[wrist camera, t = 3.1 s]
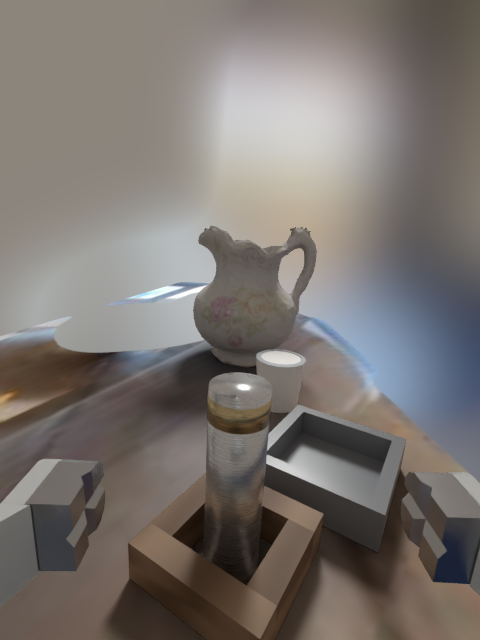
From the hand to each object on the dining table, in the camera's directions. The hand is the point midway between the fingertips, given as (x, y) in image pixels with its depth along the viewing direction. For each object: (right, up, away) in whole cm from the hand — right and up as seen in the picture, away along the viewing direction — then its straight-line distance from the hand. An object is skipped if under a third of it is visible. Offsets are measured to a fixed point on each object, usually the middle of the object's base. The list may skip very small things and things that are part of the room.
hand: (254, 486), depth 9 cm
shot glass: (+5, -8, +40) cm, 41 cm away
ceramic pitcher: (+1, -3, +58) cm, 58 cm away
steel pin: (-1, -13, +16) cm, 21 cm away
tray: (+8, -11, +25) cm, 29 cm away
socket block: (-1, -13, +16) cm, 21 cm away
